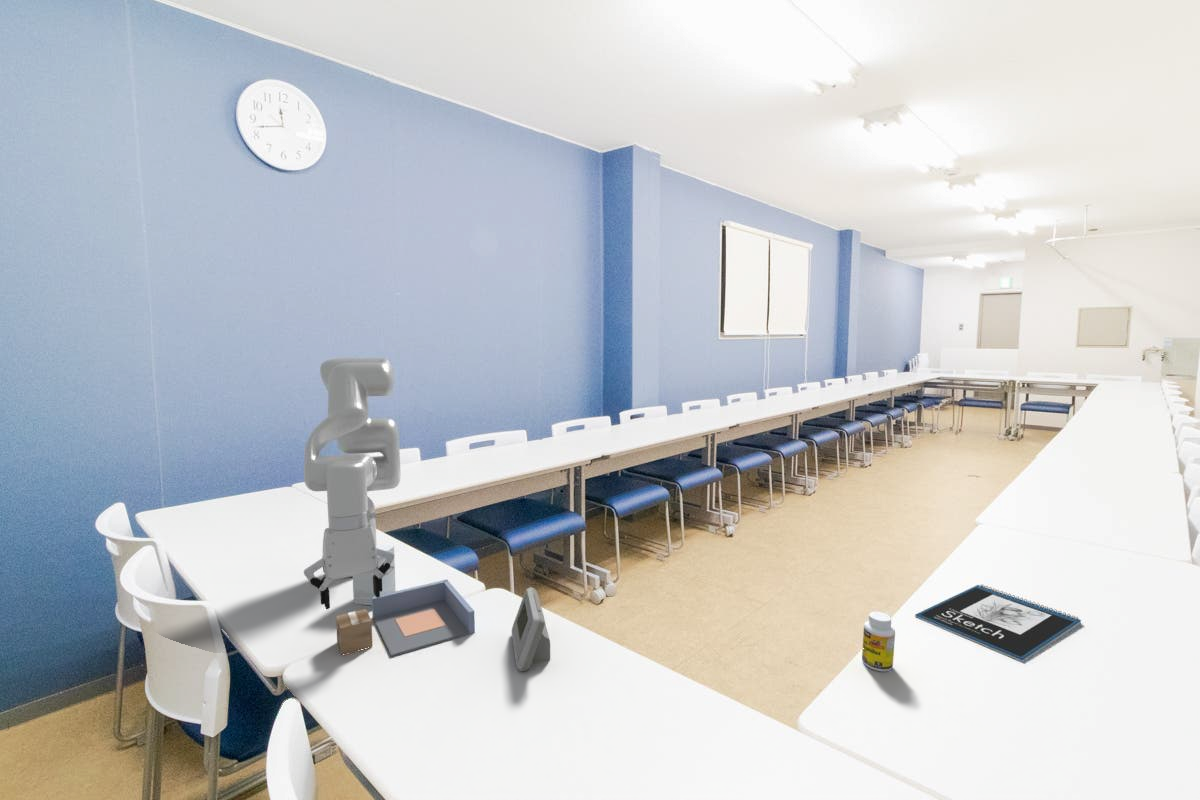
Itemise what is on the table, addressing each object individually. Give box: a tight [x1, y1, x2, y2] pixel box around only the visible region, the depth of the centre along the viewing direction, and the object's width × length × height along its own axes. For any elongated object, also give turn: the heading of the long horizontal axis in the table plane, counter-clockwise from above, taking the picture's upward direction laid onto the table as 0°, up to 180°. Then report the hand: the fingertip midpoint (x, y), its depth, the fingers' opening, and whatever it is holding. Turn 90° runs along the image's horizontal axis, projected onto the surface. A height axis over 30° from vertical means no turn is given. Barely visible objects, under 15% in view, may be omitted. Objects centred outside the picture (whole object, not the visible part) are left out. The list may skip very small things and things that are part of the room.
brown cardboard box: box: [335, 608, 373, 656], centre depth 118 cm, size 6×6×6 cm
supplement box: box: [352, 544, 397, 606], centre depth 138 cm, size 7×7×13 cm
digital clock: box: [511, 586, 551, 672], centre depth 115 cm, size 16×9×11 cm, turn 2°
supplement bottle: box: [861, 611, 896, 672], centre depth 110 cm, size 6×6×10 cm
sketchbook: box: [914, 584, 1082, 663], centre depth 129 cm, size 22×30×2 cm
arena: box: [371, 579, 476, 658], centre depth 126 cm, size 19×18×5 cm
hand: (352, 600), depth 116 cm, fingers open, 9 cm apart
